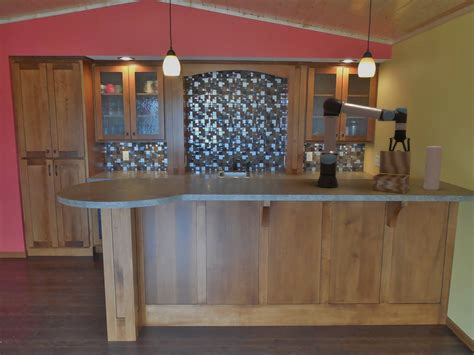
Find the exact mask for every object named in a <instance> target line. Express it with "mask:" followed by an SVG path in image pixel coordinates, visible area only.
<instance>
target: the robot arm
mask: <svg viewBox="0 0 474 355" xmlns="http://www.w3.org/2000/svg"><path fill="white" fill-rule="evenodd" d="M322 108H323V114H322V115H323V116H322V117H323V118H324V137H323V138H324V141H323V142H324V144H323V150H322V152H321V155H320V158H319V176H318V180H317V182H316V186H317V187H318V186H319V188H323V187H330V188H329V189H333V188H332V187H335V188H338V187H339V182H338V178H337V164H338V152H337V150H336V145H337V143H336V142H337V128H338V126H337V125H338V124H337V123H338V119H339V117H340V115H341V114H345V115H351V116H355V117H356V116H357V117H362V118H368V119H373V120H377V121H378V122H394V129H395V130H394V133H393V134H394V135H393V137H389V146H388V151H395V149H396V147H397V145H398V143H401V144H402V147H403V150H404V151H403V152H411V142H410V141H411V137H407V126H408V125H407V124H408V122H407V121H408V108H407V107H396V108H395V110H392V109H384V108H380V107H379V108H378V107H373V106H366V105H361V104H356V103H351V102H346V101H345V100H342V99H337V98H335V97H328V98H326V99H325V100H324V101H323V104H322ZM394 140H395V141H394ZM393 141H394V143H393ZM405 141H406V143H405ZM406 145H407V147H406Z"/></svg>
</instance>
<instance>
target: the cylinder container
mask: <svg viewBox="0 0 474 355" xmlns="http://www.w3.org/2000/svg"><path fill="white" fill-rule="evenodd" d="M425 150H426V151H425V161H424V162H425V165H424V177H423V178H424V179H423V189H425V190H429V191H438V189H439V190H440V180H441V167H442V166H441V165H442V157H443V156H442V153H443V146H438V145H429V146H426V149H425Z"/></svg>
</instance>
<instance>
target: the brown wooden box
mask: <svg viewBox="0 0 474 355" xmlns="http://www.w3.org/2000/svg"><path fill="white" fill-rule="evenodd" d="M371 188H372V191H373V192H383V193H393V194H406V193H407V192H408V191H409V189H410V175H400V174H386V173H377V174H375V175H373V176H372V187H371Z"/></svg>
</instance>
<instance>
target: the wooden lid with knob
mask: <svg viewBox="0 0 474 355" xmlns="http://www.w3.org/2000/svg"><path fill="white" fill-rule="evenodd" d="M411 158H412V152H411V151H410V152H405V151H402V150H398V149H397V150H394V151H389V150H379V170H378V171H379V173H380V174H394V175H408V176H410V175H411ZM379 173H378V174H379Z"/></svg>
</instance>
